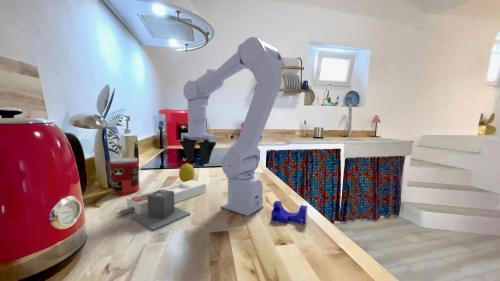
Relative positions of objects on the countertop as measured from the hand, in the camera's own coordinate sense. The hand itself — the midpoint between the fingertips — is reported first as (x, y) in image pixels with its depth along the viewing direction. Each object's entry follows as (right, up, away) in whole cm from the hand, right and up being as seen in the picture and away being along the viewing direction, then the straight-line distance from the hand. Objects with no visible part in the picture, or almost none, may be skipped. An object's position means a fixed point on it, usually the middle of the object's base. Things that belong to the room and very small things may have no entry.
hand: (197, 162), depth 70 cm
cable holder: (+27, -13, -17) cm, 34 cm away
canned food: (-25, -10, +2) cm, 27 cm away
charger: (-5, -12, -16) cm, 20 cm away
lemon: (-7, -10, +11) cm, 16 cm away
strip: (-8, -11, -6) cm, 15 cm away
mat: (-5, -12, -16) cm, 21 cm away
